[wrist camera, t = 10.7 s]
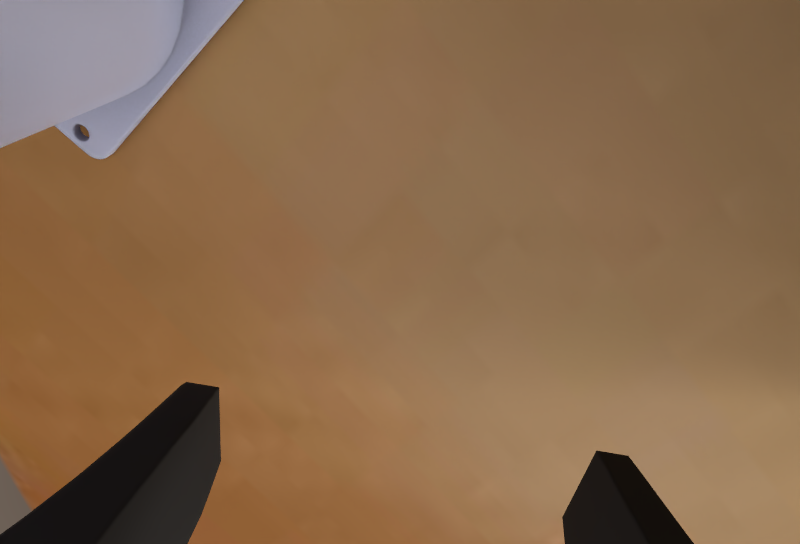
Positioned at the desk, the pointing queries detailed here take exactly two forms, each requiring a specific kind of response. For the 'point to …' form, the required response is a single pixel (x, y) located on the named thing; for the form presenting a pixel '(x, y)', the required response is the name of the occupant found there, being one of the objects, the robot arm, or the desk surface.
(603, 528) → the robot arm
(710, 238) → the desk surface
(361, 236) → the desk surface
